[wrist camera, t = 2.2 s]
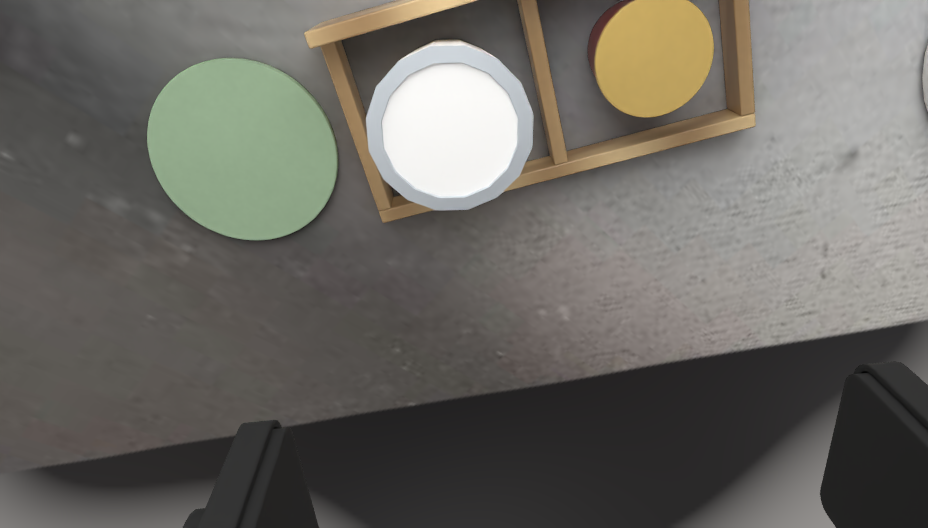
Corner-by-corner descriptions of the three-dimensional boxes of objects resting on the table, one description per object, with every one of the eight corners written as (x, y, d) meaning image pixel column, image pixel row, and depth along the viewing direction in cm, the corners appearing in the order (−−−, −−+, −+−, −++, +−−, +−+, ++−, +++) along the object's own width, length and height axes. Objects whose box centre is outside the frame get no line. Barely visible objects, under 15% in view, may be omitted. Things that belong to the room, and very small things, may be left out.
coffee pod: (679, -25, 29) (708, -22, 26) (690, 84, 32) (718, 100, 28) (570, 6, 30) (585, 13, 27) (589, 112, 32) (605, 130, 29)
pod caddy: (727, -97, 28) (767, -104, 25) (740, 117, 33) (777, 138, 29) (320, 22, 30) (303, 32, 26) (385, 210, 34) (378, 241, 31)
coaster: (298, 34, 30) (296, 34, 30) (363, 213, 34) (362, 215, 34) (114, 87, 31) (111, 89, 31) (200, 255, 35) (198, 258, 35)
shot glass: (542, 113, 32) (566, 153, 26) (434, 187, 34) (431, 241, 27) (466, -6, 30) (472, 6, 23) (352, 80, 31) (329, 113, 25)
